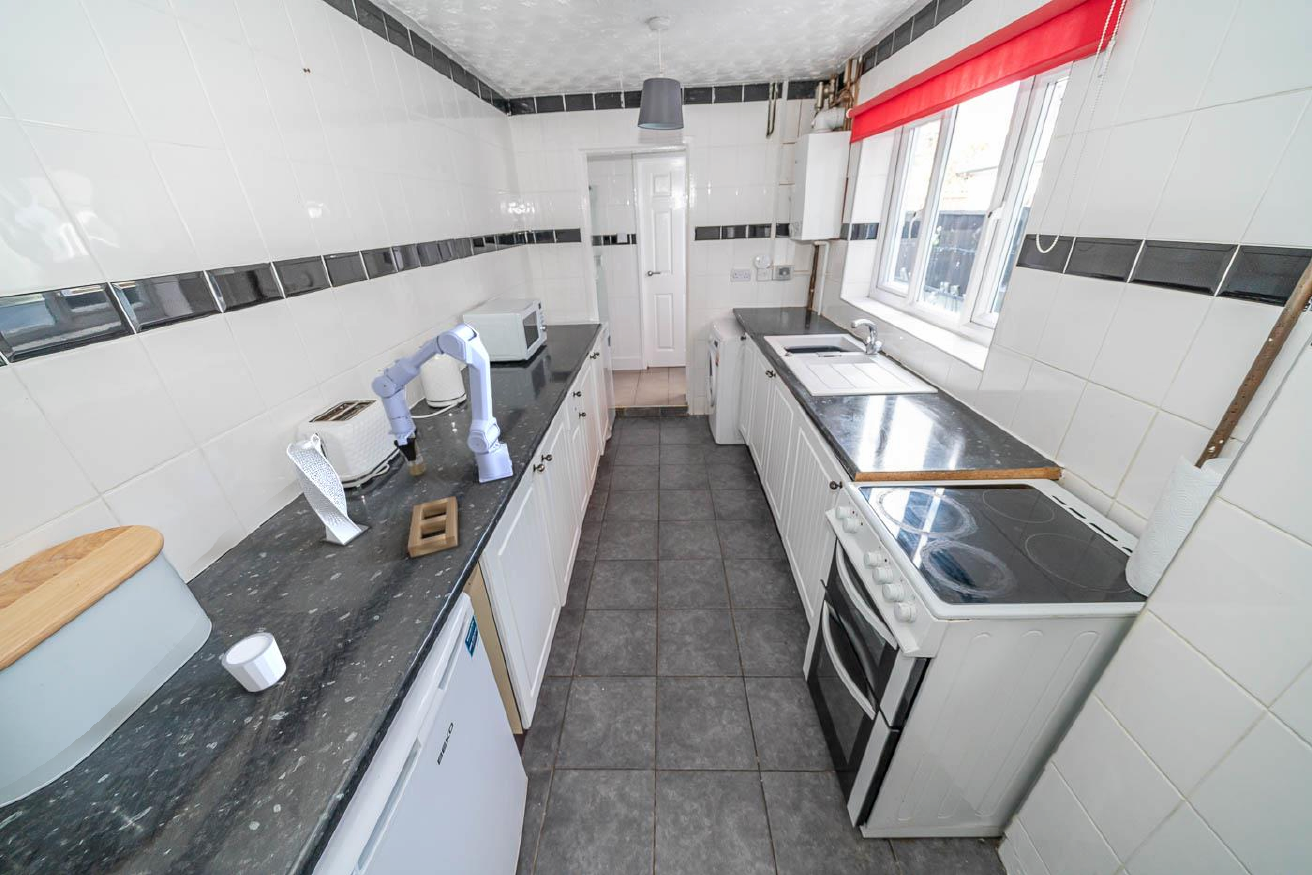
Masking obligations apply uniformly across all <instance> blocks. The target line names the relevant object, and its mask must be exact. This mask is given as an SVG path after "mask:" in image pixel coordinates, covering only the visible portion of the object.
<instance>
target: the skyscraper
mask: <svg viewBox="0 0 1312 875" xmlns="http://www.w3.org/2000/svg"><path fill="white" fill-rule="evenodd" d="M314 437H315V438H316V439H314ZM321 444H322V443H321V438H320V436H319V435H317V434H315V433H313V434H311V436H310V439H303V440H300V441H297V442H296V443H292V442H290V443H289V444H288V445H287V447H286V450H285V454H286V456H287V457H288V458H289V459H290V460H291V461H292V462H293V466H294V469H295V473H296V476H297V480H298V484H299V485H300V488H301V490H302V493H303V495H304V496H305V498H306V500H307V501H308V503H309V505H310V506H311V508H312V510H313V511H314V512H315V514H316V515H317V517H318V518H319V519H320V520H321V522H322V523H323V524H324V526H325V533H326V536H325V537H323V538H322V540H323V542H329V543H332V544H337V545H340V546H346V545H347V544H348V543H350V542H351V541H353V540H354V539H355V538H357V537H358V536H360V535H361V534H362V533H364V532H365V531H367V530H368V529H370V527H369V526H368V525H363V524H360V523H359V524H358V523H355V522H354V521H352V519H350V517H349V516H348V508H347V500H346V494H345V490H344V487H343V484H342V481H341V479H340V477H339V475H338V473H337V472H336V469H335V468H334V467H333V465H332V464H331V463H330V461H329V459H327V457H326V456H325V455H324V454H323V453H322V450H321V448H322V446H321Z"/></svg>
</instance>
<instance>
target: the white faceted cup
mask: <svg viewBox="0 0 1312 875" xmlns="http://www.w3.org/2000/svg"><path fill="white" fill-rule="evenodd" d="M279 648H280V647H279V646H278V644H277V641H276V640H275V637H274V635H273V634H272V633H270V632H258V633H254V634H251V635H248V636H247V637H244V638H242V639H241V640H240V641H238V642H236V643H234V644H233V645H232V646H231V647H230V648H229V649H228V650H226V652H225V653H224V655H223V657H222V658H221V666H222V667H223V668H224V669H226V671H227V672H228V673H229V674H231V675H232V677H234V679H236V681H237V682H239V683H240V685H242V686H243V688H244V689H246V691H248V692H251V693H252V692H253V693H257V692H261V691H263V690H266V689H267V688H269V687H271V686H273V685H274V684H276V683H277V682H278V681H279V680H280V679H281V678H282V677H283V675H284V674H285V673H286V670H287V665H286V662H285V660H284V657H283V656H282V652H281V651H280V649H279Z"/></svg>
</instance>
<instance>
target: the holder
mask: <svg viewBox="0 0 1312 875" xmlns="http://www.w3.org/2000/svg"><path fill="white" fill-rule="evenodd" d="M458 509H459V505H458V502H457V498H456V495H455V496H449V497H445V498H442V499H437V500H432V501H429V502H423V503H420V504H415V505H413V510H412V517H411V522H410V529H409V535H408V542H407V550H408V553H409V556H410V558H416V557H420V556H423V555H427V554H431V553H434V552H438V551H443V550H446V549H450V548H455V547H458V532H459V530H458V527H459V524H458V522H459V520H458V519H459V518H458V516H459V514H458V513H459V510H458ZM439 514H442V515H439ZM436 515H439V516H436ZM432 516H433V517H432ZM434 516H435V517H434ZM427 517H430V518H427ZM441 531H445V533H442V534H437V535H433V536H430V537H425V538H423V537H424V536H425V535H430V534H434V533H438V532H441Z"/></svg>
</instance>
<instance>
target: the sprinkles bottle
mask: <svg viewBox="0 0 1312 875" xmlns="http://www.w3.org/2000/svg"><path fill="white" fill-rule="evenodd" d="M408 438H409V439H410V438H415V433H414V432H413V433H411V434H410V435H409V436H408ZM415 451H416V460H413V461H408V460H407V459H406V457H405V456H404V455H403V457H404V459H405V460H404V461H405V463H406V465H407V467H408V469H409V474H410V475H411V476H419V475H423V474H425V472H426V471H427V467H426V466H425V462H424V458H423V456H422V453H421V450H420V447H419V444H418V441H417V442H416V440H415Z"/></svg>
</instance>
